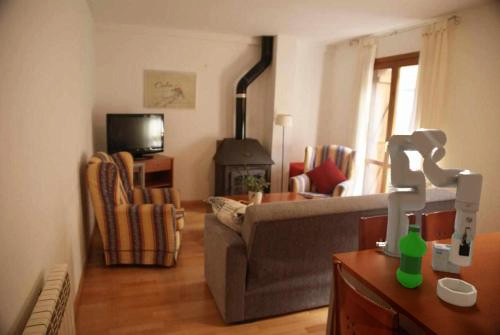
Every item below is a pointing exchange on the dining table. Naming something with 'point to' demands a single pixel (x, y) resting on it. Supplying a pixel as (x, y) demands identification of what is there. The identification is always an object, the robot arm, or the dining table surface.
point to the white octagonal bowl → (456, 292)
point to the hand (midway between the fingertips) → (461, 251)
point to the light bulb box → (443, 259)
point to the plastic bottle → (411, 258)
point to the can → (454, 252)
